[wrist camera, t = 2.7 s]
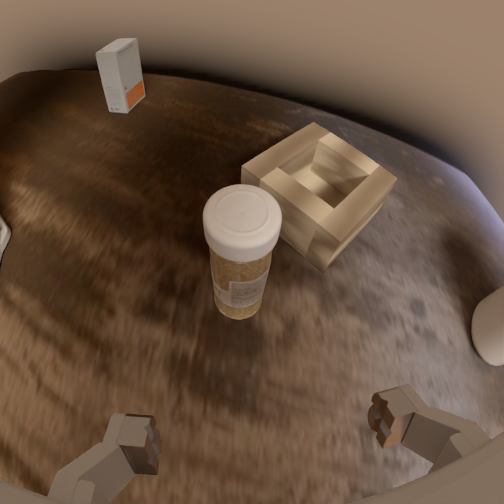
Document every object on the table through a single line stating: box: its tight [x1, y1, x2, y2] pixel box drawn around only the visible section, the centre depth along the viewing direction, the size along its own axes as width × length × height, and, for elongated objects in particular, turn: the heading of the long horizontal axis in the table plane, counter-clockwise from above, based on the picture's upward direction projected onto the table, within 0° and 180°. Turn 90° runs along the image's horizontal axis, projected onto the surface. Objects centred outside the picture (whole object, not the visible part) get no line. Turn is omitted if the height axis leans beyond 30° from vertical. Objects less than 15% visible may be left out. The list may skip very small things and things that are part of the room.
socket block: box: [241, 122, 397, 273], centre depth 32 cm, size 12×12×6 cm
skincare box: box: [96, 38, 146, 113], centre depth 39 cm, size 6×4×12 cm
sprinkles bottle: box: [203, 184, 282, 320], centre depth 23 cm, size 5×5×13 cm
